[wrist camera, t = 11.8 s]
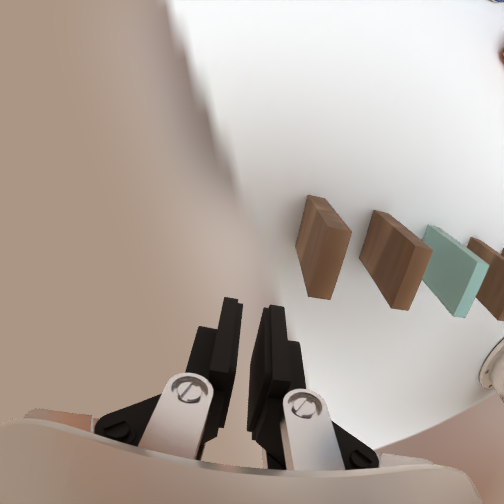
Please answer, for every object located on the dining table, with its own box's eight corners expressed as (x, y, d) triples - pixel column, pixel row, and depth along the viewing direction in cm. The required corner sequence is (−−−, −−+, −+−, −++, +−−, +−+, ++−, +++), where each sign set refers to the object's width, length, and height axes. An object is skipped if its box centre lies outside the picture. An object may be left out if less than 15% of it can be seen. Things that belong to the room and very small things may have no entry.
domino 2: (388, 213, 27) (433, 250, 19) (373, 261, 29) (408, 310, 21) (373, 209, 27) (415, 245, 19) (359, 258, 29) (391, 308, 21)
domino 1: (325, 198, 27) (351, 231, 19) (311, 249, 29) (330, 300, 21) (307, 194, 27) (328, 226, 19) (295, 246, 29) (308, 296, 20)
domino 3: (412, 268, 29) (452, 316, 21) (428, 224, 27) (477, 261, 19) (423, 271, 29) (465, 317, 21) (439, 228, 27) (489, 265, 19)
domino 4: (479, 239, 28) (528, 275, 19) (464, 279, 30) (506, 321, 21) (470, 237, 28) (520, 273, 19) (455, 277, 30) (497, 320, 21)
